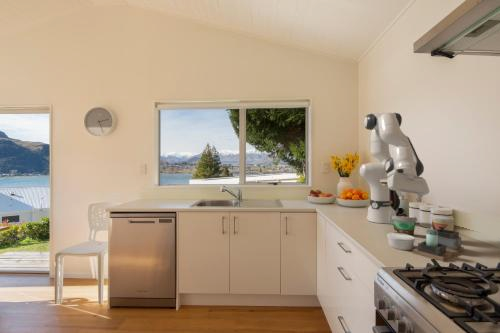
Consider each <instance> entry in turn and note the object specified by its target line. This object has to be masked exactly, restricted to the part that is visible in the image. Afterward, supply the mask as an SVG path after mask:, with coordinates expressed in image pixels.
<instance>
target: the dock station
mask: <svg viewBox="0 0 500 333" xmlns="http://www.w3.org/2000/svg"><path fill="white" fill-rule="evenodd" d="M436 230H437V231H438V247H437V248H436V247H432V246H428V245H426V240H423V241H421V242H418V243H417V247H416V248H414V249H413V248H412V254H415V255H418V256H421V257H425V258H429V259H433V260H436V261H440V262H444V261H447V260H448V259H450V258H452V257H454V256H456V255H458V254H460V253H461V252H464V251H465V249H464V246H462V236H460V235H459V234H460V232H459V231H454V230H453V231H450V230H445V229H436Z"/></svg>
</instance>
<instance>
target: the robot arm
mask: <svg viewBox="0 0 500 333" xmlns="http://www.w3.org/2000/svg"><path fill="white" fill-rule="evenodd" d="M363 123H364V124H363V125H364V128H365V129H366V130H368V131H371V133H370V142H369V143H370V155H371V156H372V157H373V158H374V159H377V160H378V161H379V162H368V163H362V165H361V166H360V168H359V175H360V177H361V178H363V179H364V181H366V182H367V184H368V185H369V190H370V200H369V206H368V209H367V216H366V217H365V219H366V220H367V221H369V222H372V223H376V224H390V225H393V219H392V216H393V215H394V216H397V212H396V210H395V209H394V208H393V207H392V206H391V204H393V200H390V191H395V193H396V195H397V196H398V199H399V200H405V195H404V194H403V193H408V194H415V195H416V196H417V198H416V199H415V200H416V203H422V202H423V199H422V198H423V196H425V195H428V194H429V193H430V189H429V186H428V183H427V181H426V179H425V178H424V177H422V176H421V175H422V174H423V173H424V169H425V167H424V164H423V162H422V161H421V160H420V158H419V156H418V154H417V152H416V149H415V147H414V145H413V143H412V141H411V138H409V137H408V136H407V135H406V134H405V133H404V132H403V131H402V129H401V126H402V123H403V118H402V115H401V114H400V113H398V112H379V113H378V112H377V113H370V114H367V115H366V116H365V118H364V120H363ZM390 145H392V146H394V147H393V150H392V155H391V153H390ZM381 180H387V181H386V182H387V186H386V185H385V184H383V183H381ZM402 192H403V193H402Z"/></svg>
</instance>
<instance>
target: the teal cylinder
mask: <svg viewBox="0 0 500 333" xmlns="http://www.w3.org/2000/svg"><path fill="white" fill-rule="evenodd" d="M425 231H426V235H425V237H426V239H425V241H426V245H428V246H432V247H436V248H437V247H438V231H437V230H432V229H429V228H428V229H426V230H425Z"/></svg>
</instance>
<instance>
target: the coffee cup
mask: <svg viewBox="0 0 500 333" xmlns="http://www.w3.org/2000/svg"><path fill="white" fill-rule="evenodd" d="M431 227H432V230H436V229H445V230H450V231H454V227H455V218H454V217H453V216H448V215H441V214H434V215H431Z"/></svg>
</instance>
